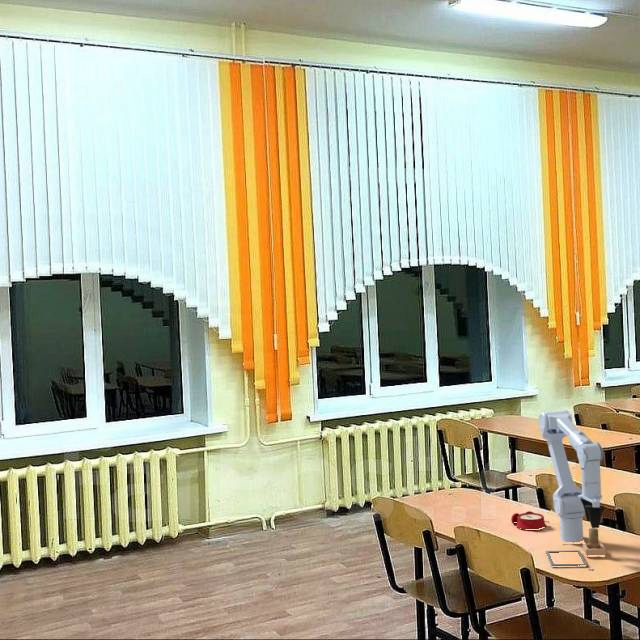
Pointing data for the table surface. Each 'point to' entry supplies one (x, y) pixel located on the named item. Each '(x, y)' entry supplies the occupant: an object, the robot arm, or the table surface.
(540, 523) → the alarm clock
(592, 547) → the dowel
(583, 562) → the grey rectangular frame
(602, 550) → the wooden block with hole
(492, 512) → the table surface
